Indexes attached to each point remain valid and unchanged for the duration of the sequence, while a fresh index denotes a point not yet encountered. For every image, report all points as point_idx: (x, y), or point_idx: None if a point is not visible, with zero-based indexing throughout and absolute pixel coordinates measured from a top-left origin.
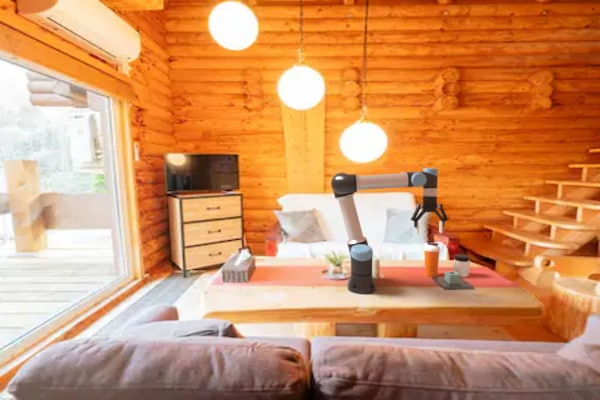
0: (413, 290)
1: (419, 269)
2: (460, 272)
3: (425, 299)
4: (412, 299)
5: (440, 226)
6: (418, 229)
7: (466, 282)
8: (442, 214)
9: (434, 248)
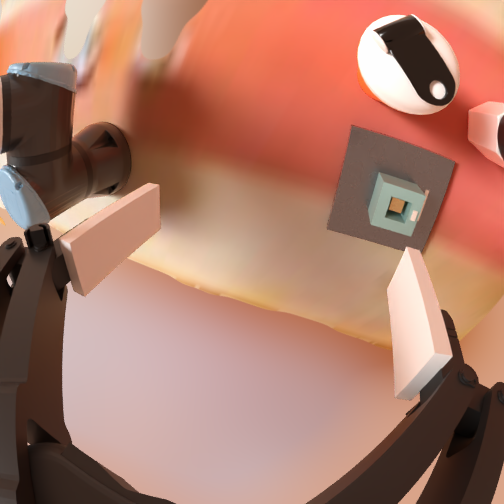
0: (226, 200)
1: (370, 5)
2: (479, 147)
3: (230, 262)
4: (198, 251)
5: (406, 319)
6: (134, 248)
7: (430, 221)
8: (454, 481)
9: (403, 107)
